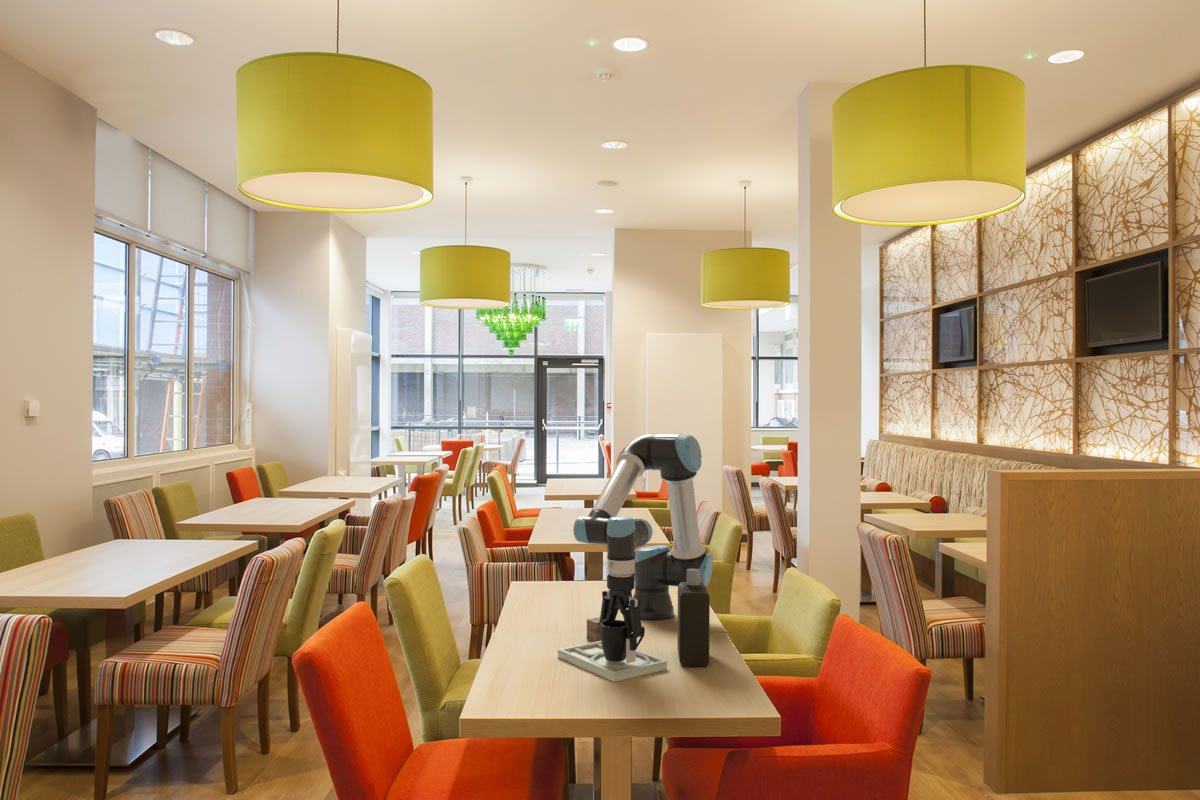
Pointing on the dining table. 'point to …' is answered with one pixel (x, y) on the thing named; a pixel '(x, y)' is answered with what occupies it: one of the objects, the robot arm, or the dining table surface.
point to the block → (593, 629)
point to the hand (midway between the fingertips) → (620, 657)
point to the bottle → (693, 621)
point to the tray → (610, 662)
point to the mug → (615, 639)
